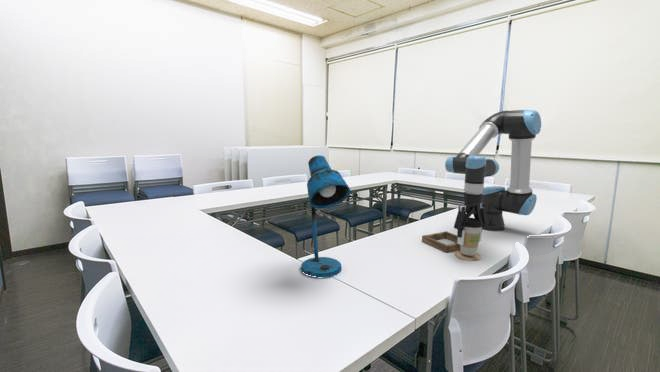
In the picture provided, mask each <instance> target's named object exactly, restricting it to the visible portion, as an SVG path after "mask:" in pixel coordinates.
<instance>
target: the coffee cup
mask: <svg viewBox="0 0 660 372" xmlns="http://www.w3.org/2000/svg"><path fill="white" fill-rule="evenodd" d="M482 227H483V224H482V221H481V220H479V219H475V217H469V218H468V221H467V222H466V225H465V227H464V229H463V230H464V231H465V232H464V244H463V245H460V252H461V253H462V254H464V255H469V256H473V255H476V253H477V250H478V247H479V243H480V242H479V239H480V234H481V235H482V233H481V228H482Z"/></svg>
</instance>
